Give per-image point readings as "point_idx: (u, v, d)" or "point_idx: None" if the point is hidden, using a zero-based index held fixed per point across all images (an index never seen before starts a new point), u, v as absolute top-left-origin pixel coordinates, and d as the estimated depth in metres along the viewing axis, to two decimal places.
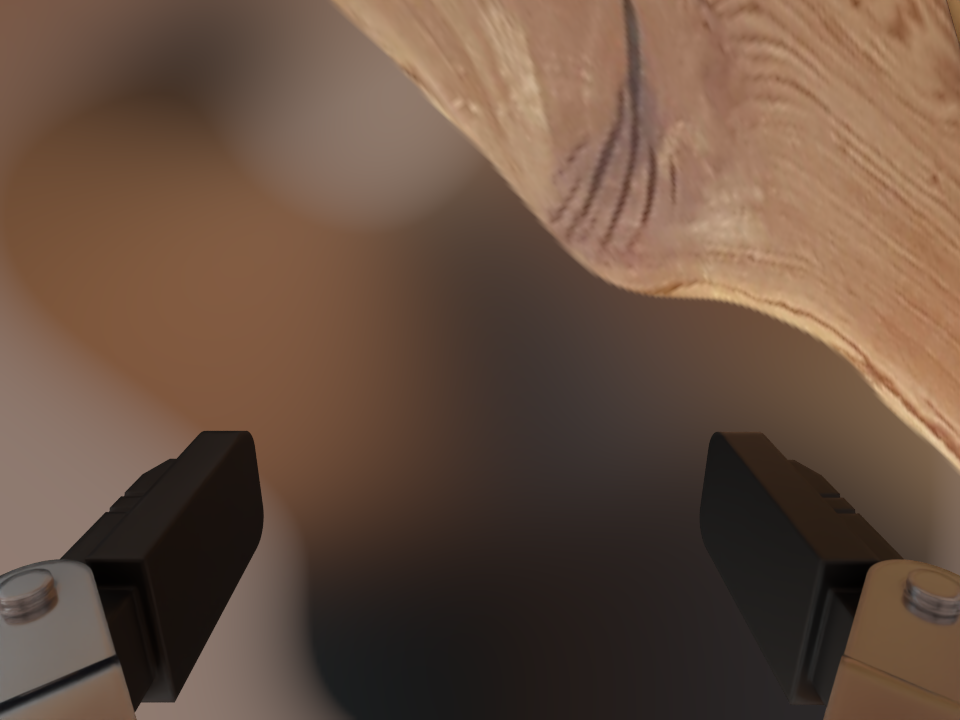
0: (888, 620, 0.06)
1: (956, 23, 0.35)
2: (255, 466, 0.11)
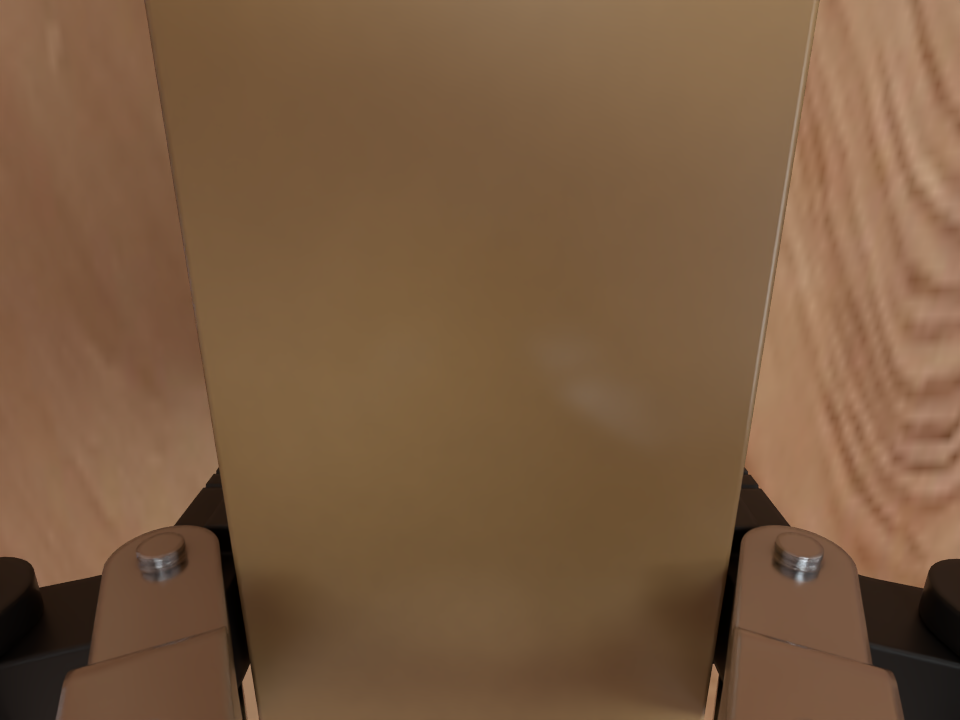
0: (765, 585, 0.07)
1: None
2: None
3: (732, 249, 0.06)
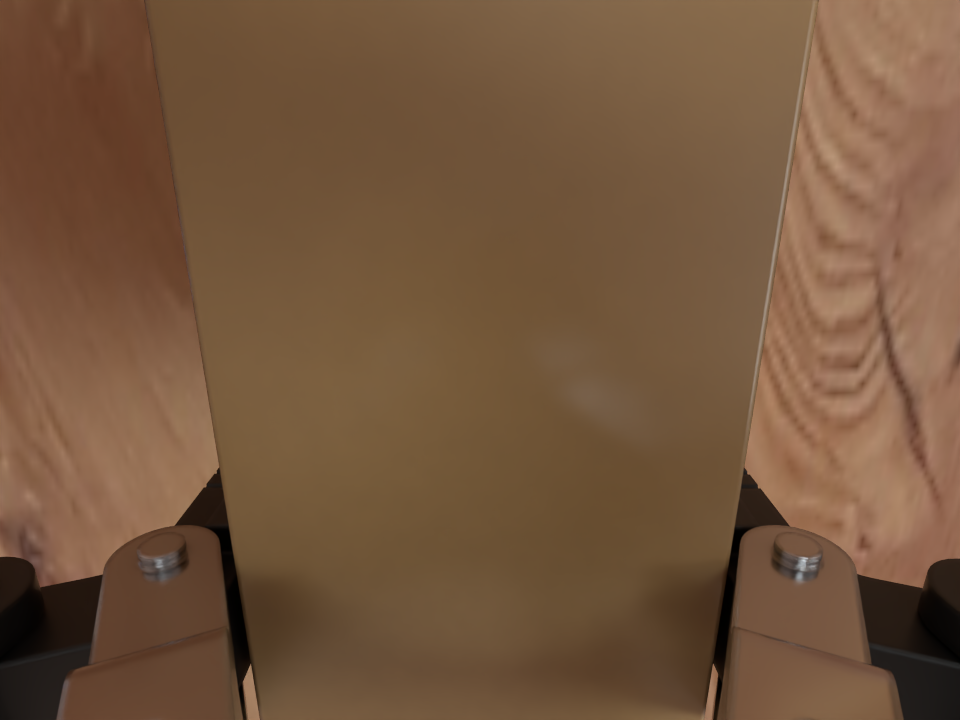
0: (764, 585, 0.07)
1: None
2: None
3: (732, 248, 0.06)
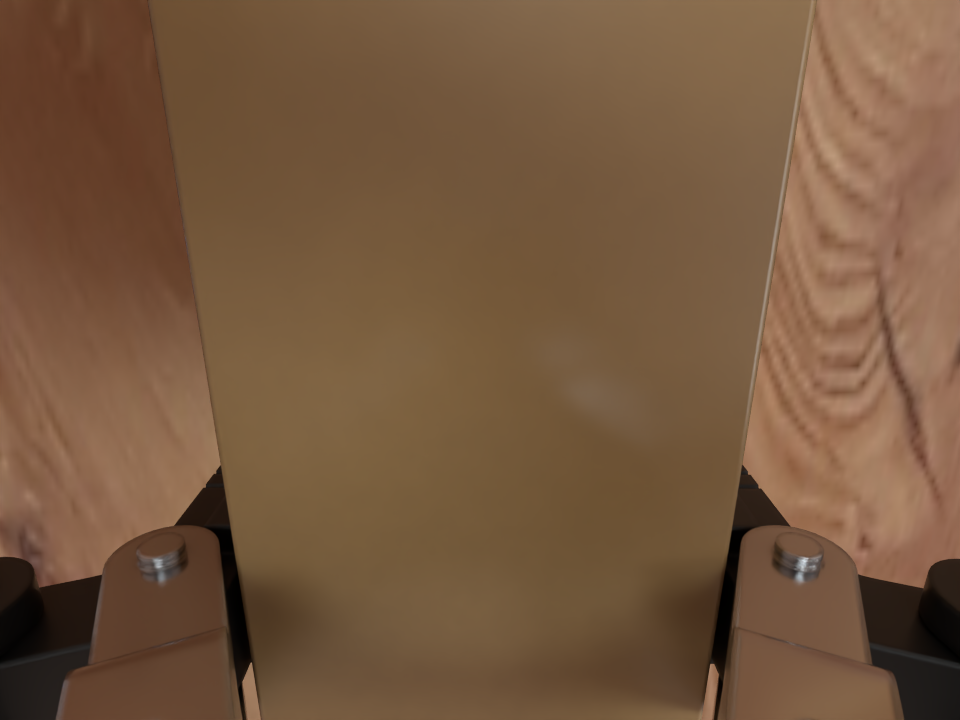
0: (764, 585, 0.07)
1: None
2: None
3: (730, 246, 0.06)
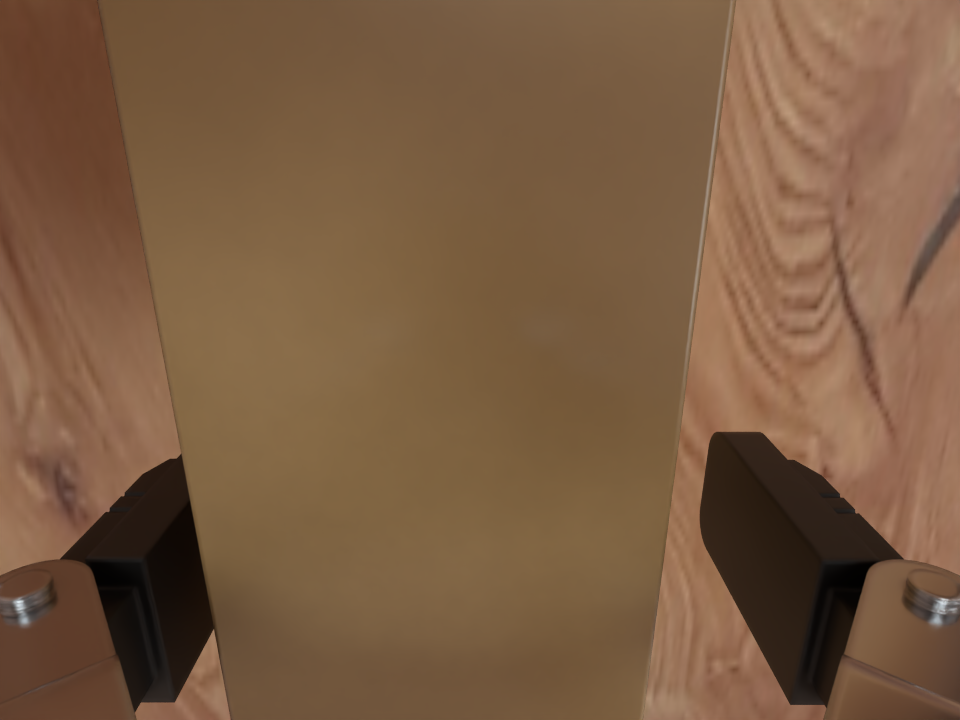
0: (888, 620, 0.06)
1: None
2: None
3: (671, 140, 0.06)
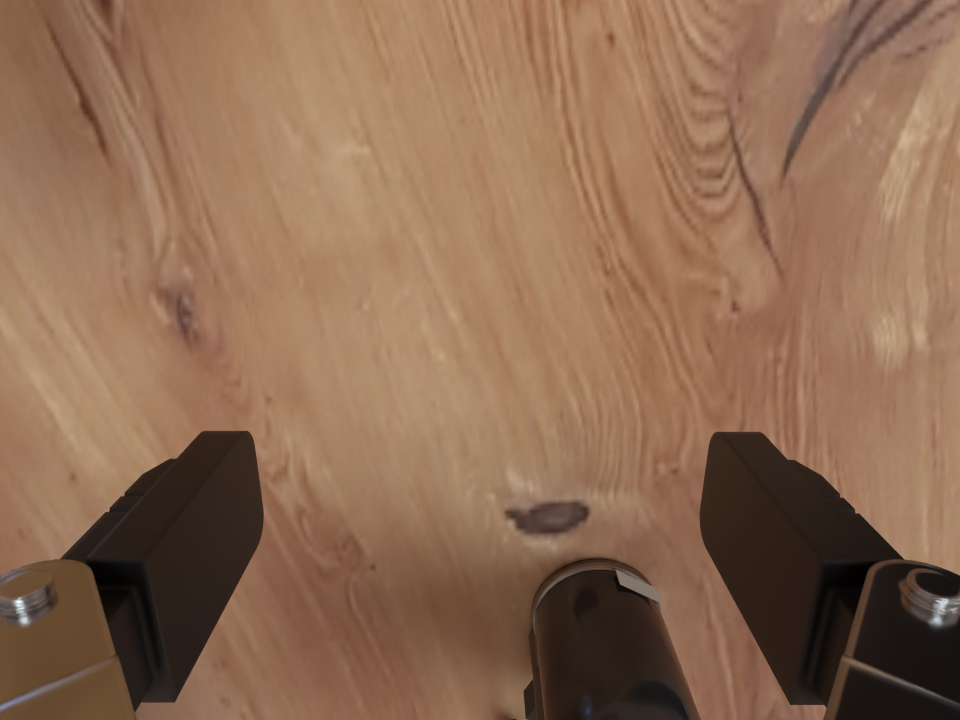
0: (888, 620, 0.06)
1: None
2: (255, 466, 0.11)
3: None
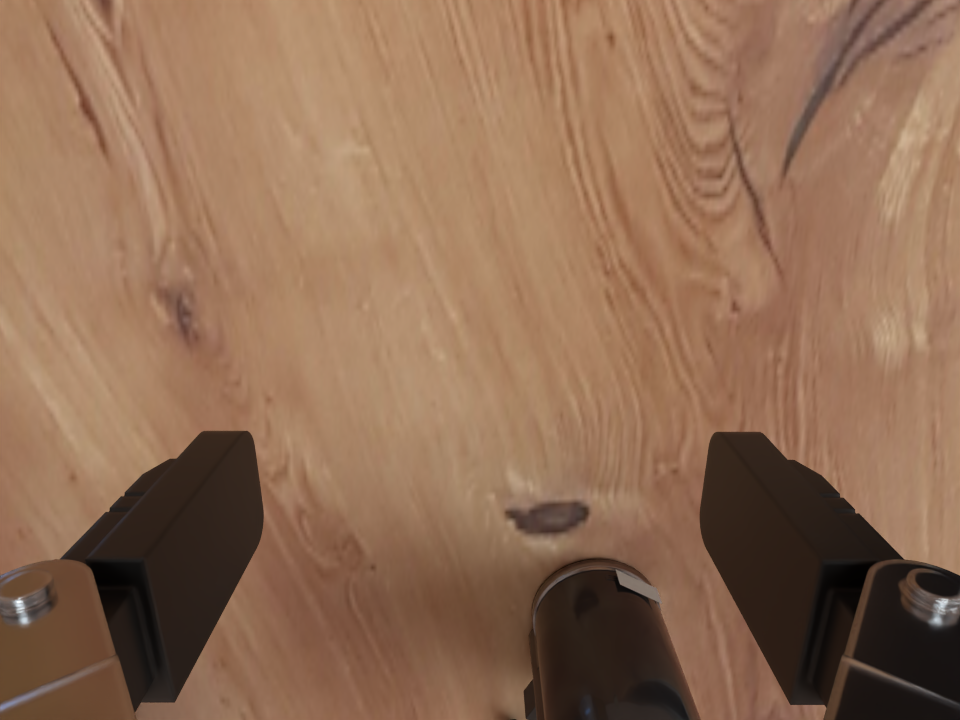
0: (888, 620, 0.06)
1: None
2: (255, 466, 0.11)
3: None
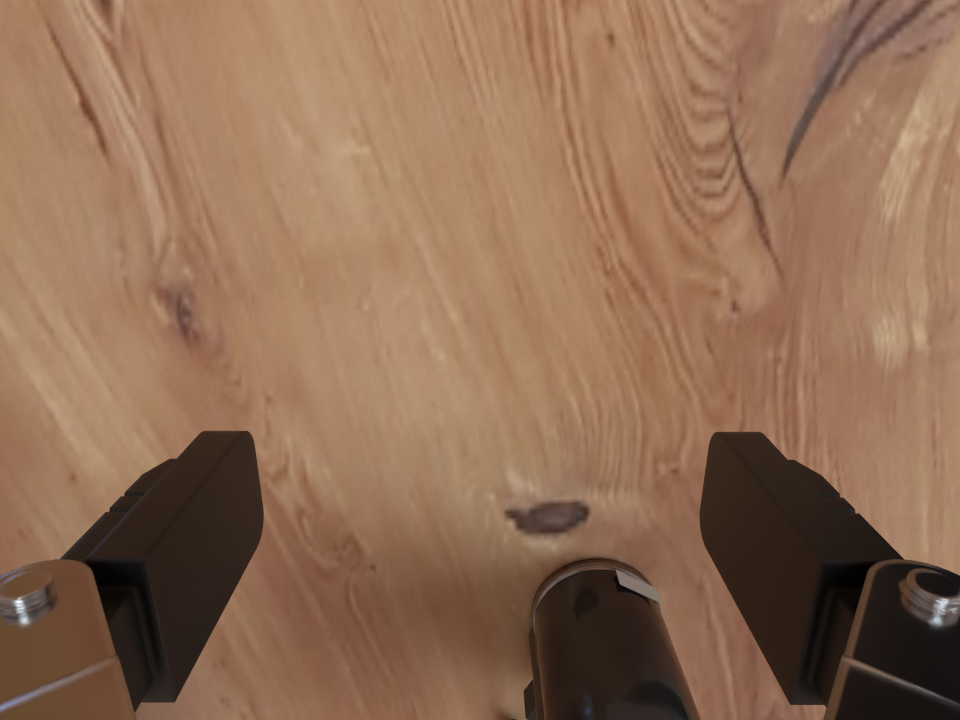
0: (888, 620, 0.06)
1: None
2: (255, 466, 0.11)
3: None
